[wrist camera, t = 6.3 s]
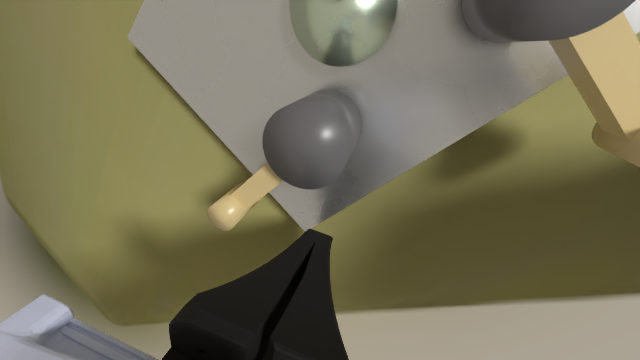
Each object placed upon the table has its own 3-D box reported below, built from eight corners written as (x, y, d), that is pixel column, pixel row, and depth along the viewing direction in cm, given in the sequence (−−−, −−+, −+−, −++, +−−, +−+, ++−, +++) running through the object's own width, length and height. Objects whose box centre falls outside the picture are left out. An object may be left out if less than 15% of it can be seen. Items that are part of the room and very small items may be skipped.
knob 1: (331, 73, 11) (302, 83, 8) (376, 131, 12) (365, 160, 9) (232, 168, 15) (188, 199, 12) (270, 208, 16) (236, 248, 13)
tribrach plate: (722, -34, 8) (822, -60, 6) (311, 220, 17) (298, 242, 15) (467, -604, 6) (498, -939, 4) (147, 38, 15) (107, 37, 13)
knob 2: (442, -14, 9) (460, -45, 6) (548, -111, 7) (648, -223, 4) (555, 159, 10) (618, 206, 7) (666, 106, 9) (807, 139, 6)
